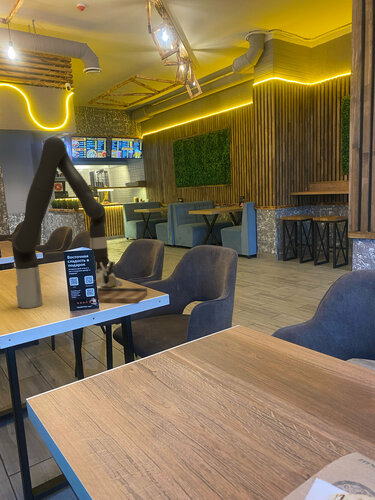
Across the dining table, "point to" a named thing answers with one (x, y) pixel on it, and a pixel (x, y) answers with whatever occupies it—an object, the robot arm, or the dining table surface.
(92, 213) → the robot arm
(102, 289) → the walnut board
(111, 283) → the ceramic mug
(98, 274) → the marking gauge
